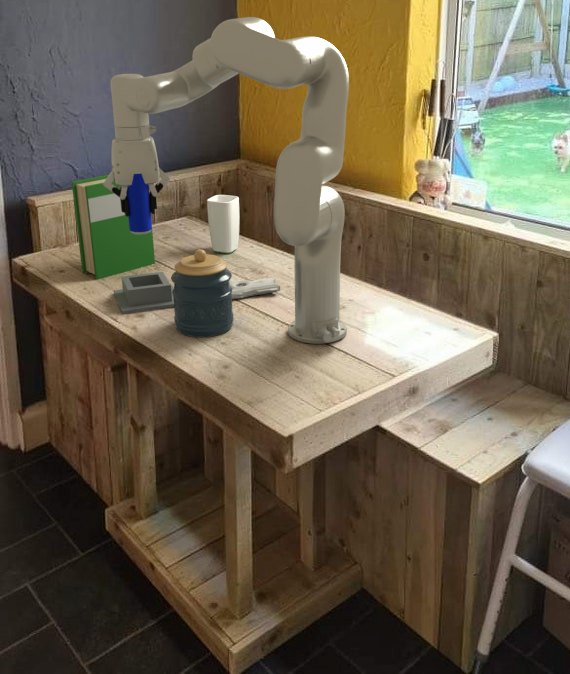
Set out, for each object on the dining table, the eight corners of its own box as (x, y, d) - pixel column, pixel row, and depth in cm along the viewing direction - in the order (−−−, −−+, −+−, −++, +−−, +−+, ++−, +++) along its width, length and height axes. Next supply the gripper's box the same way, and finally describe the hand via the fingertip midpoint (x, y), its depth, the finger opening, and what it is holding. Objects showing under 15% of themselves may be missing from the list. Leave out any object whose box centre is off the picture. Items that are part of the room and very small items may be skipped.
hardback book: (97, 279, 212) (86, 186, 202) (82, 272, 217) (71, 181, 207) (155, 263, 222) (147, 174, 213) (139, 257, 227) (131, 170, 218)
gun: (271, 269, 207) (280, 283, 198) (272, 281, 208) (281, 296, 200) (199, 280, 203) (205, 294, 195) (200, 293, 205) (207, 308, 196)
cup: (242, 248, 233) (241, 196, 227) (230, 256, 227) (228, 203, 221) (220, 245, 236) (217, 194, 230) (207, 253, 230) (204, 200, 224)
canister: (168, 320, 187) (162, 244, 179) (224, 311, 191) (220, 237, 184) (183, 342, 175) (177, 262, 168) (241, 332, 180) (238, 254, 172)
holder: (182, 306, 194) (181, 286, 192) (122, 314, 190) (120, 294, 188) (170, 286, 206) (169, 268, 204) (113, 293, 202) (111, 274, 200)
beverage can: (157, 230, 192) (152, 165, 186) (142, 236, 188) (136, 170, 182) (140, 227, 195) (134, 163, 189) (125, 232, 191) (118, 167, 185)
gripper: (167, 127, 188) (173, 206, 195) (91, 133, 183) (99, 213, 191) (174, 133, 182) (179, 214, 189) (95, 139, 177) (103, 222, 184)
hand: (139, 213), depth 190 cm, fingers closed on beverage can, 5 cm apart
